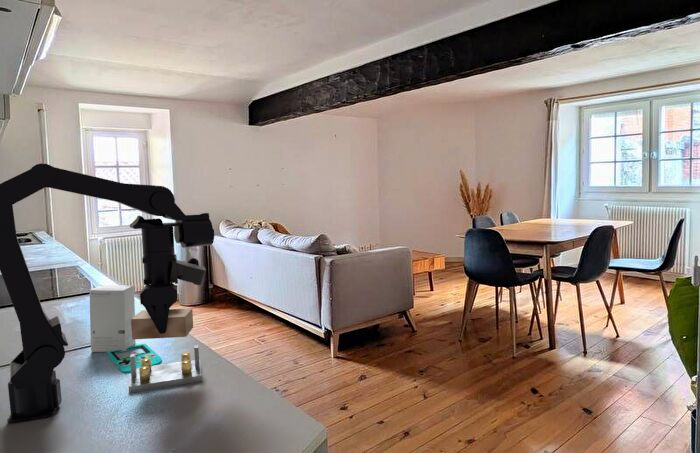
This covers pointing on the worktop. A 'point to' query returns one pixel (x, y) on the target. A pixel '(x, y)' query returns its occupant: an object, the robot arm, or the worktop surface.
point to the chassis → (164, 373)
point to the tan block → (176, 325)
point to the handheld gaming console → (125, 361)
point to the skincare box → (111, 317)
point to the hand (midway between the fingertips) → (163, 327)
